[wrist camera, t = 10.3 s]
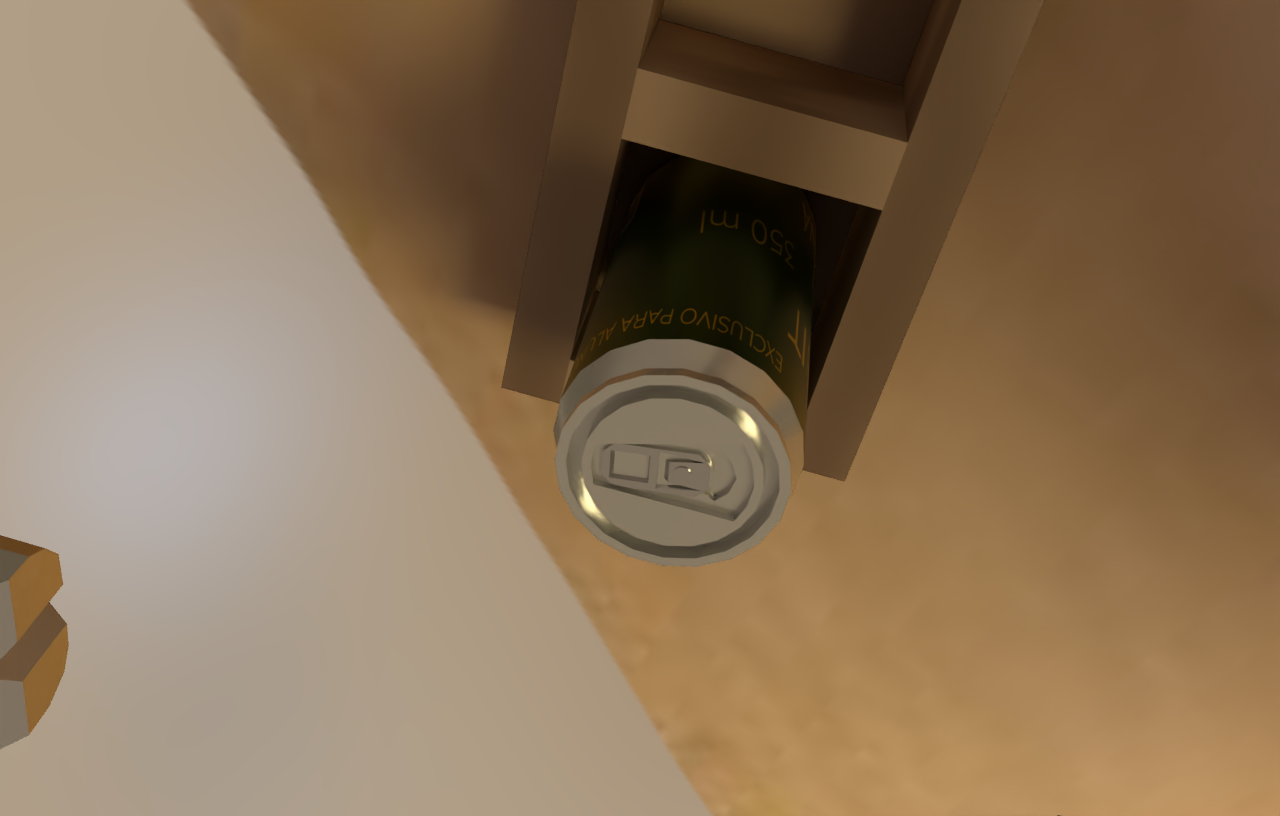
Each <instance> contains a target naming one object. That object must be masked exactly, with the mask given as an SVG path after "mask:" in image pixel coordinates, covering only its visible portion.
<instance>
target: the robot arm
mask: <svg viewBox="0 0 1280 816" xmlns="http://www.w3.org/2000/svg"><path fill="white" fill-rule="evenodd" d="M62 585H63V581H62V574H61V568H60V561H59V555H58V554H57V553H54V552H52V551H50V550H48V549H45V548H42V547H39V546H35V545H31V544H28V543H25V542H21V541H18V540H15V539H11V538H8V537H4V536H1V535H0V749H1V748H3V747H5V746H7V745H9V744H12V743H14V742H16V741H18V740H20V739H22V738H24V737H26V736H28V735H29V734H30V733H31V731H32V730H33V729H34V727H35V726H36V724H37V723H38V722H39V720H40V719H41V717H42V716H43V714H44V713H45V712H46V710H47V709H48V707H49V706H50V704H51V701H52V699H53V697H54V694H55V692H56V690H57V687H58V685H59V683H60V680H61V678H62V676H63V673H64V669H65V664H66V658H67V651H68V634H67V633H68V632H67V623H66V622H65V621H64V620H63V618H61V616H60V615H59V614H58V612H57V611H56V610H55V609H54V607H53V606H52V605H51V604H50V602H49V601H50V600H51V599H52V598H53V596H54V595H55V594H56V593H57V591H58V590H59V589H60V587H61V586H62ZM1058 816H1060V815H1058Z"/></svg>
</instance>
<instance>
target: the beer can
mask: <svg viewBox="0 0 1280 816" xmlns="http://www.w3.org/2000/svg"><path fill="white" fill-rule="evenodd" d="M815 259H816V223H815V220H814V217H813V215H812V212H811V209H810V207H809V204H808V201H807V198H806V196H805V195H804V194H803V193H802V191H801V190H800V189H799V188H798V187H795V186H792V185H788V184H785V183H781V182H777V181H774V180H770V179H766V178H763V177H759V176H755V175H752V174H748V173H745V172H741V171H737V170H734V169H730V168H726V167H723V166H719V165H716V164H712V163H708V162H705V161H701V160H697V159H694V158H690V157H687V156H680V157H677V158H674V159H672V160H670V161H669V162H668V163H666V164H665V165H664V166H662V167H661V168H660V169H658V170H657V171H656V172H654V173H653V174H652V175H650V176H649V177H648V178H647V180H646V181H645V183H644V184H643V186H642V187H641V189H640V190H639V192H638V193H637V195H636V196H635V198H634V199H633V201H632V204H631V207H630V210H629V212H628V215H627V218H626V221H625V223H624V226H623V229H622V232H621V234H620V237H619V240H618V243H617V245H616V248H615V251H614V254H613V257H612V259H611V262H610V265H609V268H608V270H607V273H606V276H605V279H604V281H603V284H602V287H601V290H600V292H599V295H598V298H597V301H596V303H595V306H594V309H593V312H592V314H591V317H590V320H589V323H588V325H587V328H586V331H585V334H584V336H583V339H582V342H581V345H580V347H579V350H578V353H577V356H576V358H575V361H574V364H573V367H572V369H571V372H570V375H569V378H568V380H567V383H566V386H565V389H564V391H563V394H562V397H561V400H560V405H559V409H558V413H557V417H556V422H555V426H554V436H555V443H556V450H557V451H556V455H555V464H556V471H557V478H558V484H559V489H560V491H561V493H562V495H563V497H564V498H565V500H566V502H567V504H568V506H569V508H570V509H571V511H572V513H573V515H574V516H575V517H576V518H577V519H578V520H579V521H580V522H581V523H582V524H583V525H584V526H585V527H586V528H587V529H588V530H589V531H590V532H591V533H592V534H593V535H594V536H595V537H596V538H597V539H598V540H600V541H602V542H604V543H605V544H607V545H609V546H611V547H612V548H614V549H616V550H618V551H620V552H621V553H623V554H625V555H627V556H629V557H633V558H636V559H640V560H644V561H647V562H651V563H654V564H658V565H662V566H692V567H698V566H703V565H707V564H711V563H716V562H720V561H725V560H729V559H732V558H734V557H736V556H737V555H739V554H741V553H743V552H745V551H746V550H748V549H750V548H752V547H754V546H756V545H757V544H759V543H760V542H761V541H762V540H763V539H764V538H765V537H766V536H767V534H768V533H769V532H770V531H771V530H772V529H773V528H774V527H775V526H776V525H777V524H778V522H779V521H780V520H781V517H782V514H783V512H784V509H785V507H786V504H787V502H788V500H789V498H790V497H791V496H792V494H793V492H794V489H795V487H796V484H797V482H798V479H799V477H800V474H801V471H802V469H803V466H804V453H805V435H806V418H807V400H808V382H809V365H810V347H811V329H812V312H813V294H814V277H815Z"/></svg>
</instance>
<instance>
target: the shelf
mask: <svg viewBox="0 0 1280 816" xmlns="http://www.w3.org/2000/svg"><path fill="white" fill-rule="evenodd" d="M1044 1H1045V0H934V1H933V4H932V6H931V9H930V12H929V15H928V17H927V20H926V23H925V26H924V28H923V31H922V34H921V37H920V39H919V42H918V45H917V48H916V50H915V53H914V56H913V59H912V61H911V64H910V67H909V70H908V72H907V75H906V78H905V81H904V83H903V86H898V85H895V84H891V83H888V82H884V81H880V80H877V79H873V78H870V77H866V76H862V75H859V74H855V73H851V72H848V71H844V70H841V69H837V68H833V67H830V66H826V65H822V64H819V63H815V62H812V61H808V60H804V59H801V58H797V57H794V56H790V55H786V54H783V53H779V52H775V51H772V50H768V49H765V48H761V47H757V46H754V45H750V44H746V43H743V42H739V41H736V40H732V39H728V38H725V37H721V36H718V35H714V34H710V33H707V32H703V31H699V30H696V29H692V28H689V27H685V26H681V25H678V24H674V23H670V22H667V21H663V20H660V16H661V12H662V8H663V4H664V0H577V5H576V10H575V16H574V21H573V26H572V31H571V36H570V41H569V46H568V51H567V56H566V61H565V66H564V71H563V77H562V82H561V87H560V92H559V97H558V102H557V107H556V112H555V117H554V122H553V127H552V132H551V138H550V143H549V148H548V153H547V158H546V163H545V168H544V173H543V178H542V183H541V188H540V193H539V198H538V204H537V209H536V214H535V219H534V224H533V229H532V234H531V239H530V244H529V249H528V254H527V259H526V265H525V270H524V275H523V280H522V285H521V290H520V295H519V300H518V305H517V310H516V315H515V320H514V326H513V331H512V336H511V341H510V346H509V351H508V356H507V361H506V366H505V371H504V376H503V381H502V387H501V388H505V389H508V390H512V391H516V392H519V393H523V394H527V395H530V396H534V397H538V398H541V399H545V400H549V401H552V402H556V403H560V400H561V397H562V394H563V391H564V389H565V386H566V383H567V380H568V378H569V375H570V372H571V369H572V367H573V364H574V361H575V358H576V356H577V353H578V350H579V347H580V345H581V342H582V339H583V336H584V334H585V331H586V328H587V325H588V323H589V320H590V317H591V314H592V312H593V309H594V306H595V303H596V301H597V298H598V295H599V292H595V290H596V286H597V282H598V277H599V273H600V269H601V265H602V261H603V256H604V252H605V248H606V244H607V240H608V235H609V231H610V227H611V223H612V219H613V214H614V210H615V206H616V202H617V197H618V193H619V189H620V185H621V181H622V176H623V172H624V168H625V164H626V160H627V155H628V151H629V147H630V143H631V141H632V142H636V143H639V144H643V145H647V146H650V147H654V148H657V149H661V150H665V151H668V152H672V153H676V154H679V155H683V156H687V157H690V158H694V159H697V160H701V161H705V162H708V163H712V164H716V165H719V166H723V167H726V168H730V169H734V170H737V171H741V172H745V173H748V174H752V175H755V176H759V177H763V178H766V179H770V180H774V181H777V182H781V183H785V184H788V185H792V186H795V187H799V188H803V189H806V190H810V191H814V192H817V193H821V194H824V195H828V196H832V197H835V198H839V199H843V200H846V201H850V202H853V203H857V204H859V207H858V210H857V212H856V215H855V218H854V221H853V223H852V226H851V229H850V232H849V234H848V237H847V240H846V243H845V245H844V248H843V251H842V254H841V256H840V259H839V262H838V265H837V267H836V270H835V273H834V276H833V278H832V281H831V284H830V287H829V289H828V292H827V295H826V298H825V300H824V303H823V306H822V309H821V311H820V314H819V317H818V320H817V322H816V325H815V328H814V331H813V333H812V336H811V347H810V365H809V382H808V400H807V418H806V435H805V453H804V466H803V469H802V470H805V471H808V472H812V473H815V474H819V475H823V476H826V477H830V478H834V479H837V480H841V481H845V479H846V477H847V474H848V472H849V470H850V467H851V465H852V462H853V460H854V457H855V455H856V453H857V450H858V448H859V445H860V443H861V441H862V438H863V436H864V433H865V431H866V429H867V426H868V424H869V421H870V419H871V417H872V414H873V412H874V409H875V407H876V405H877V402H878V400H879V397H880V395H881V393H882V390H883V388H884V385H885V383H886V381H887V378H888V376H889V373H890V371H891V369H892V366H893V364H894V361H895V359H896V356H897V354H898V352H899V349H900V347H901V344H902V342H903V340H904V337H905V335H906V332H907V330H908V328H909V325H910V323H911V320H912V318H913V316H914V313H915V311H916V308H917V306H918V304H919V301H920V299H921V296H922V294H923V292H924V289H925V287H926V284H927V282H928V280H929V277H930V275H931V272H932V270H933V268H934V265H935V263H936V260H937V258H938V256H939V253H940V251H941V248H942V246H943V243H944V241H945V239H946V236H947V234H948V231H949V229H950V227H951V224H952V222H953V219H954V217H955V215H956V212H957V210H958V207H959V205H960V203H961V200H962V198H963V195H964V193H965V191H966V188H967V186H968V183H969V181H970V179H971V176H972V174H973V171H974V169H975V167H976V164H977V162H978V159H979V157H980V155H981V152H982V150H983V147H984V145H985V143H986V140H987V138H988V135H989V133H990V130H991V128H992V126H993V123H994V121H995V118H996V116H997V114H998V111H999V109H1000V106H1001V104H1002V102H1003V99H1004V97H1005V94H1006V92H1007V90H1008V87H1009V85H1010V82H1011V80H1012V78H1013V75H1014V73H1015V70H1016V68H1017V66H1018V63H1019V61H1020V58H1021V56H1022V54H1023V51H1024V49H1025V46H1026V44H1027V42H1028V39H1029V37H1030V34H1031V32H1032V30H1033V27H1034V25H1035V22H1036V20H1037V17H1038V15H1039V13H1040V10H1041V8H1042V5H1043V3H1044Z"/></svg>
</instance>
